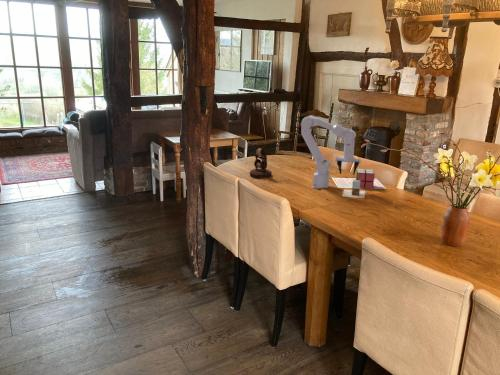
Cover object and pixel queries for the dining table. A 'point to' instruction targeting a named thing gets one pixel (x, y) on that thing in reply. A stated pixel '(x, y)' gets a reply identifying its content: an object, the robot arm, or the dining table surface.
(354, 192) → the walnut block
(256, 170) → the dark brown figurine
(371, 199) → the dining table surface
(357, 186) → the gray block
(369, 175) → the puzzle cube
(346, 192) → the board
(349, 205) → the dining table surface
